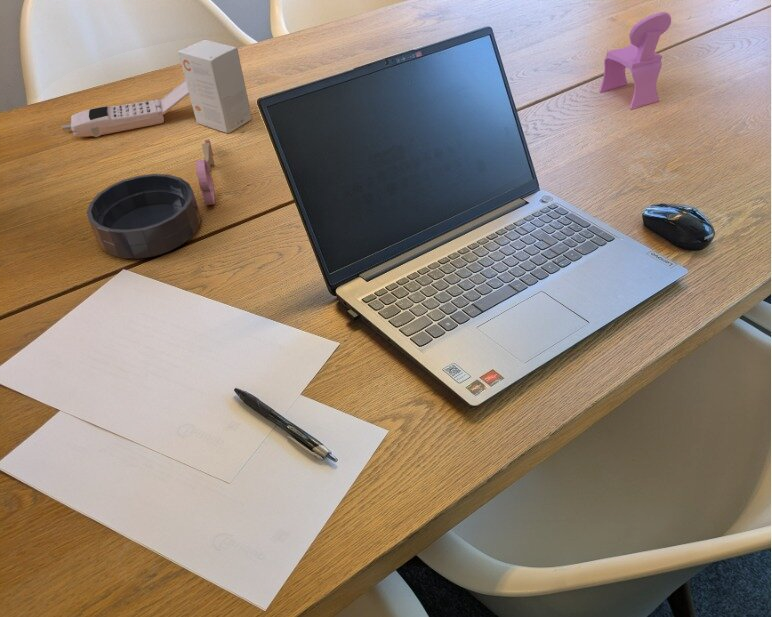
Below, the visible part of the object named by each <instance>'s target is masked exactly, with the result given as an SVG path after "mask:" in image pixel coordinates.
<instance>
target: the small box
mask: <svg viewBox="0 0 772 617" xmlns="http://www.w3.org/2000/svg"><path fill="white" fill-rule="evenodd" d="M178 56H179V60H180V64H181V68H182V71H183V72H182V73H183V76H184V80H186V83H187V87H188V91H189V95H188V96H189V99H190V102H191V107H192V110H193V114H194V117H195V121H196V124H198V125H201V126H203V127H208V128H210V129H213V130H215V131H219V132H222V133H226V134H231V132H233V131H235V130H237V129H239V128H240V127H242V126H244V125H246V123H248V122H250V121H251V120H253V116H252V111H251V107H250V101H249V98H248V92H247V88H246V82H245V78H244V75H243V74H244V72H243V68H242V63H241V58H240V53H239V48H238V47H237V46H232V45H229V44H224V43H220V42H218V41H212V40H209V39H203V40H200V41H198V42H196V43H194V44H191V45H189V46H186V47H184V48H183V49H180V50H178Z"/></svg>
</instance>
